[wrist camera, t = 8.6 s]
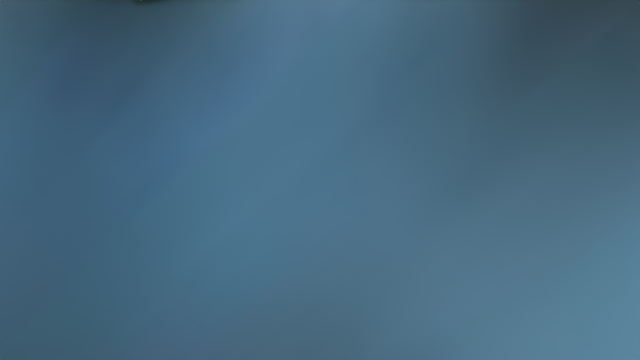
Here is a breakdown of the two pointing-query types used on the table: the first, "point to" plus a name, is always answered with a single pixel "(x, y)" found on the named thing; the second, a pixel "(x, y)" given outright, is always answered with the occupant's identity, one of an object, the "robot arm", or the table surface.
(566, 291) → the table surface
